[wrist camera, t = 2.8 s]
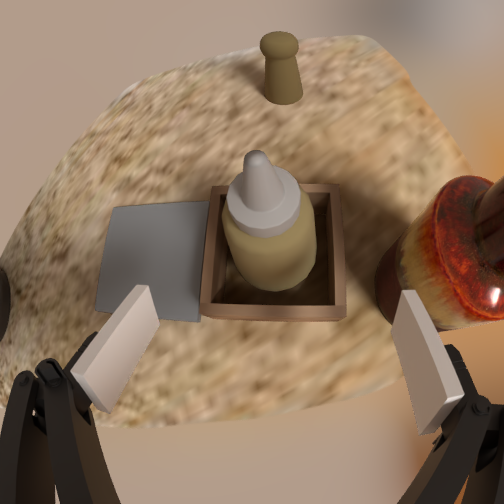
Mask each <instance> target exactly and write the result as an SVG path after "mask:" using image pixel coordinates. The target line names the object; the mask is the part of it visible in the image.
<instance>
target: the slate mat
mask: <svg viewBox="0 0 504 504" xmlns="http://www.w3.org/2000/svg"><path fill="white" fill-rule="evenodd" d="M209 207H210V201H196V202H178V203H163V204H150V205H137V206H125V207H115V208H113V211H112V215H111V220H110V224H109V228H108V233H107V237H106V242H105V247H104V252H103V258H102V263H101V269H100V275H99V281H98V288H97V296H96V303H95V311H100V312H107V313H114V312H115V311H116V309H117V308H118V307H119V306H120V304H121V303H122V302H123V301H124V299H125V298H126V297H127V296H128V294H129V293H130V292H131V291H132V290H133V288H134V287H135V286H136V285H148V286H149V289H150V293H151V296H152V300H153V303H154V307H155V310H156V313H157V316H158V319H166V320H177V321H188V322H200V319H201V314H199V308H200V295H201V283H202V272H203V262H204V252H205V242H206V233H207V224H208V215H209Z"/></svg>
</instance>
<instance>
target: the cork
mask: <svg viewBox="0 0 504 504" xmlns="http://www.w3.org/2000/svg"><path fill="white" fill-rule="evenodd" d="M298 49H299V48H298V41H297V39H296V38H295V37H294V36H293V35H292V34H290V33H287V32H281V31H279V32H271V33H269V34H266V35H264V37H262V39H261V41H260V50H261V52H262V53H263V55H264V56H265V97H266V99H267V100H268V101H270V102H272V103H274V104H279V105H288V104H293V103H295V102H297V101H299V100H300V99H301V98H302V96H303V89H302V84H301V80H300V75H299V70H298V66H297V61H296V57H295V55H296V54H297V52H298Z"/></svg>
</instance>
